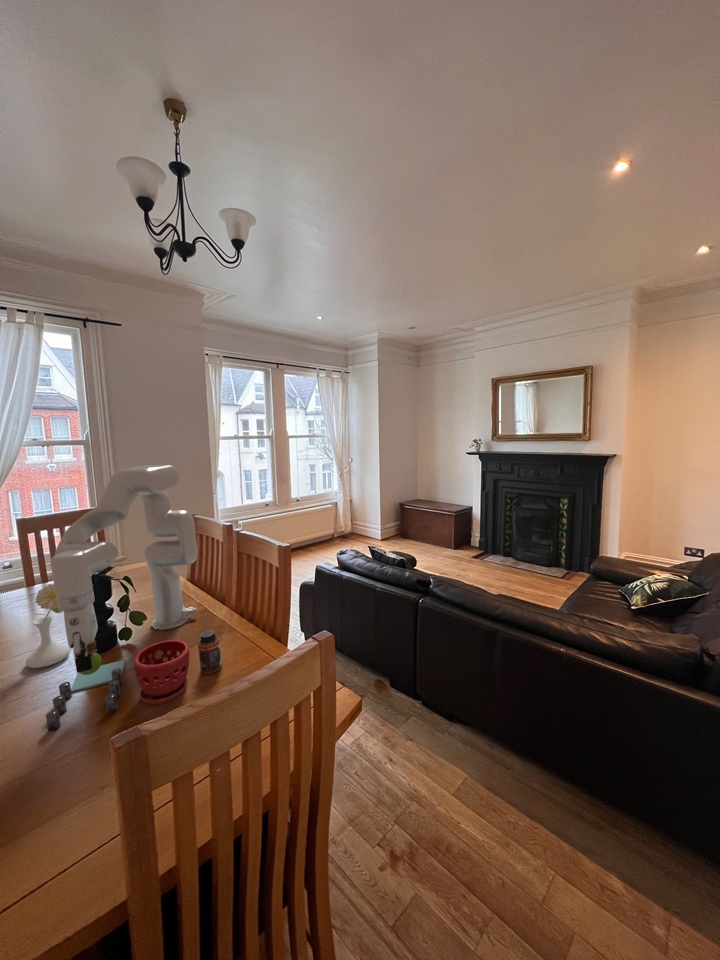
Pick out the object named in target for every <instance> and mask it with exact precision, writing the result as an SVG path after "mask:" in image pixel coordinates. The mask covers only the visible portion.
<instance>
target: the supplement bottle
mask: <svg viewBox="0 0 720 960" xmlns="http://www.w3.org/2000/svg"><path fill="white" fill-rule="evenodd" d="M220 644H221V643H220V638H219V637H218V636H216V632H215V630H213V629H209V630H208V629H207V630H205V631H203V632H202V633H200V640H199V641H198V644H197V648H198V649H197V650H198V657H199V667H200V671H201V673H202V674H203V675H206V674H207V675H210V674H214V673H216V672H218V671H220V670H221V668H222V665H223V664H222V653H221V645H220Z"/></svg>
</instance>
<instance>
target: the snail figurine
mask: <svg viewBox="0 0 720 960" xmlns="http://www.w3.org/2000/svg"><path fill="white" fill-rule="evenodd" d="M81 644H85V643H84V642H81ZM96 647H97V641H96V638H95V639H94V641H93V643H92V644H90V645H89V644H88V654H90V656H91V662H92V669H90V670H87V671H83V672H79V673H80V674H82V675H90V674H93V673H94V672H96V671H97V670H98V669H99V668H100V666H102V663H103V661H102V656H101V654H99V653H98V649H97V648H96ZM94 649H95V650H94ZM81 650H84V651H85V649H84V647H81ZM95 652H96V653H95Z"/></svg>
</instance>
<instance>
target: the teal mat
mask: <svg viewBox="0 0 720 960" xmlns="http://www.w3.org/2000/svg"><path fill="white" fill-rule="evenodd" d="M125 663H126V662H125V659H123V660H118V661H114V662H109V663H107V664H101V666H100V668H99V669H98V670H97V671H96V672H94V673H93V674H90V675H82V674H80V673H78V672H76V675H75V679H74V680H73V683H72V686H71V693H72V694H73V693H76V692H77V693H78V692H80V691H81V692H82V691H84V690H87V689H91V688H95V687H97V686H102V685H107V684H109V683H110V682H112V674H111V672H112V671H113V670H115V669H118V668H120V669H121V671H122V673H123V671H124V667H125Z"/></svg>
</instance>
